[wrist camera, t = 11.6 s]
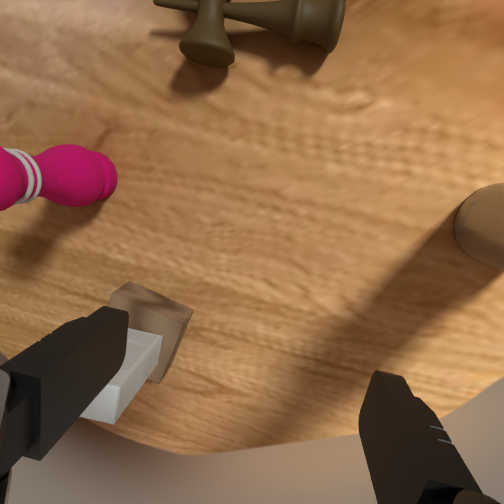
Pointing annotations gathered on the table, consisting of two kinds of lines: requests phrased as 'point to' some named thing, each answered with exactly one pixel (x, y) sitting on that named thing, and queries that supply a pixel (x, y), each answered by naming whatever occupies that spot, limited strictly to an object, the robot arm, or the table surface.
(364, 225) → the table surface
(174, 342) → the walnut block
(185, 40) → the kendama
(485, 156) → the table surface
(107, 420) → the skincare box
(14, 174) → the pepper mill
